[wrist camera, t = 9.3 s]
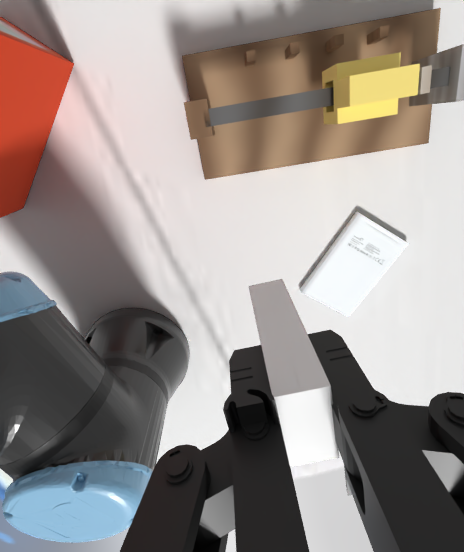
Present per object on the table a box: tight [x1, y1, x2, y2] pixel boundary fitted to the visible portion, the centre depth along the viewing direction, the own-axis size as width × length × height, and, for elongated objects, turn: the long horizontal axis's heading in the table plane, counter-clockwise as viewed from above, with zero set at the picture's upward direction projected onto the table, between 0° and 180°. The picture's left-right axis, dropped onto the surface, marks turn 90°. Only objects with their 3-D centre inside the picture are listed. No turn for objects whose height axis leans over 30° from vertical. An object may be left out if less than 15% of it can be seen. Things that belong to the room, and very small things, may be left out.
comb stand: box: [182, 8, 464, 180], centre depth 31 cm, size 25×12×9 cm, turn 99°
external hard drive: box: [300, 211, 409, 317], centre depth 43 cm, size 2×8×12 cm
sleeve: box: [322, 52, 420, 124], centre depth 27 cm, size 5×4×7 cm
